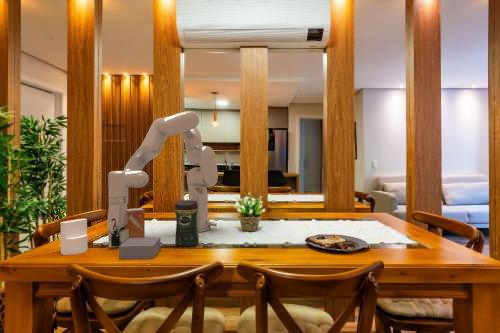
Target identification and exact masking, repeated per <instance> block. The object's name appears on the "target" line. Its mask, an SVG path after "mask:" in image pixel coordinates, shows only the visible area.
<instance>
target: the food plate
mask: <svg viewBox="0 0 500 333" xmlns="http://www.w3.org/2000/svg"><path fill="white" fill-rule="evenodd" d="M304 242H305V243H306V244H308V245H310V246H312V247H314V248H318V249H319V248H320V249H324V250H326V251H327V250H328V251H335V252H336V251H337V252H340V251H341V252H344V253H345V252H346V253H347V252H348V253H351V252H353V253H355V252H356V251H358V250H362V249H364V248H368V247H369V244H368V242H367V241H365V240H363V239H361V238H359V237H354V236H351V235H344V234H334V233H333V234H329V233H328V234H327V233H320V234H315V235H311V236H307V237H306V238H305V240H304ZM351 247H354V248H351Z"/></svg>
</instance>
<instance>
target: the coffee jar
mask: <svg viewBox="0 0 500 333" xmlns="http://www.w3.org/2000/svg"><path fill="white" fill-rule="evenodd" d="M197 212H198V205H197V201H194V200H189V199H188V200H185V199H184V200H183V199H182V200H177V201H176V202H175V205H174V213H175V214H174V215H175V217H176V220H175V222H176V224H175V238H174V244H175V245H176V246H178V247H179V246H180V247H190V246H195V245H198V243H199V241H200V239H199V232H198V229H197Z"/></svg>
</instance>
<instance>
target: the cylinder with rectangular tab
mask: <svg viewBox="0 0 500 333" xmlns="http://www.w3.org/2000/svg"><path fill="white" fill-rule="evenodd" d="M87 251H88V219H87V218H78V219H72V220H66V221H60V254H61V255H64V256H73V255H74V256H75V255H79V254H84V253H86V252H87Z"/></svg>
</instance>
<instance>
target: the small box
mask: <svg viewBox="0 0 500 333" xmlns="http://www.w3.org/2000/svg"><path fill="white" fill-rule="evenodd" d="M127 210H128V223H127V225H126V226H127V227H126V229H129V238H146V237H145V233H146V232H145V229H146V228H145V220H146V219H145V216H146V215H145V209H144V208H142V207H139V208H129V209H128V208H127Z"/></svg>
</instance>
